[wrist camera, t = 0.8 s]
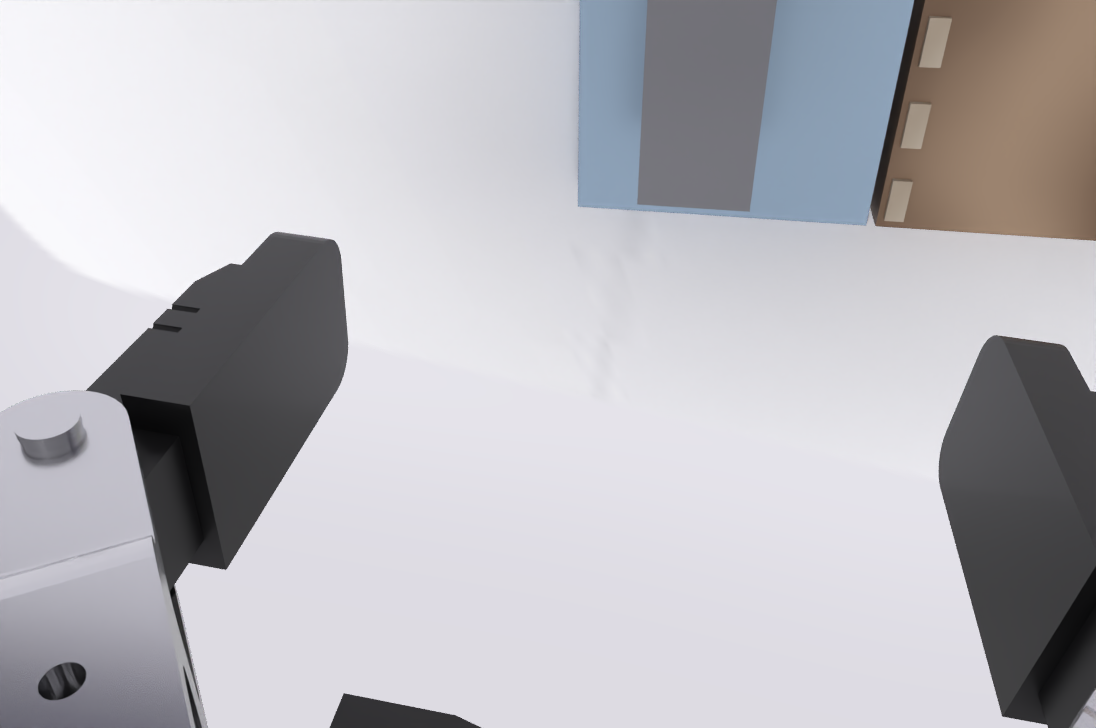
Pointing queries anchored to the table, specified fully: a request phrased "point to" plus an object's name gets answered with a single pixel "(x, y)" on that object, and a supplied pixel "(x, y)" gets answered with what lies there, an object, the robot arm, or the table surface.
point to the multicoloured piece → (737, 105)
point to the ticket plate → (993, 121)
